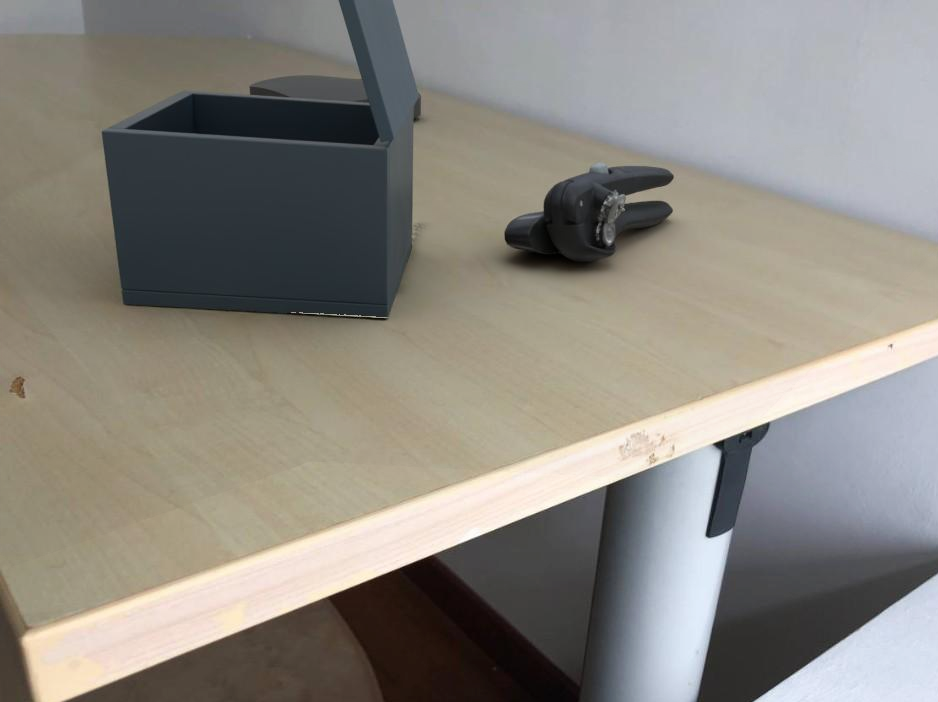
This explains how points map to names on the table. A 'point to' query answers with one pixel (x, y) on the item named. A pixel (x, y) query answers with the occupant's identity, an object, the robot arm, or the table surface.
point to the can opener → (590, 212)
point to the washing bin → (260, 204)
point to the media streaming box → (317, 89)
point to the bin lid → (381, 62)
